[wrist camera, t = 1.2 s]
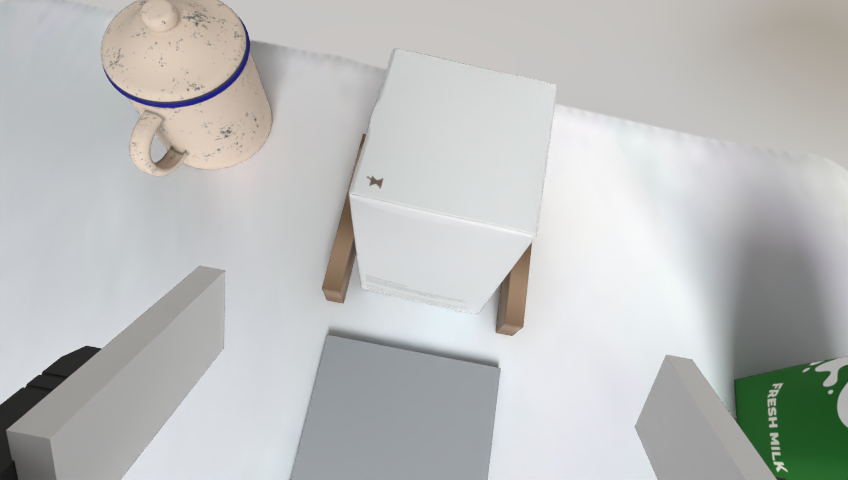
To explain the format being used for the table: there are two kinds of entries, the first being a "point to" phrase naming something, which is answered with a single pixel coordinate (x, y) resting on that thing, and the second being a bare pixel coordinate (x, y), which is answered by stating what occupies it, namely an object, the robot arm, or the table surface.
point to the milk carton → (798, 419)
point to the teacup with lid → (187, 83)
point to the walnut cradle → (345, 254)
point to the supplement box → (449, 180)
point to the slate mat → (397, 416)
